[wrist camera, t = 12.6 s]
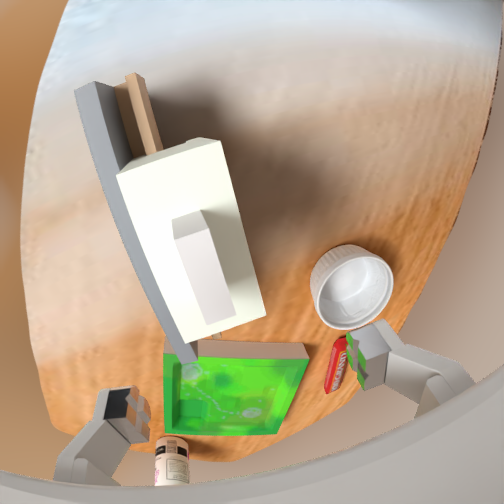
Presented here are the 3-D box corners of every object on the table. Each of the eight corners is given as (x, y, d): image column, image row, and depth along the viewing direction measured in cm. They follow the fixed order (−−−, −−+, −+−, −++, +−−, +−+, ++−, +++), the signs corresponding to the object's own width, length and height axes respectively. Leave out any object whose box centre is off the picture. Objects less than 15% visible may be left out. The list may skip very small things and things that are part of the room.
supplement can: (192, 447, 67) (196, 496, 53) (164, 450, 66) (164, 498, 53) (181, 433, 63) (182, 485, 50) (150, 436, 63) (148, 487, 49)
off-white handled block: (132, 158, 28) (104, 186, 14) (198, 137, 29) (234, 143, 15) (175, 277, 34) (191, 377, 20) (232, 257, 35) (284, 345, 21)
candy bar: (336, 385, 64) (340, 394, 61) (321, 388, 63) (325, 397, 60) (349, 332, 57) (355, 341, 54) (332, 334, 56) (338, 344, 54)
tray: (301, 341, 56) (309, 359, 52) (272, 417, 66) (276, 434, 61) (165, 334, 51) (163, 353, 46) (165, 415, 60) (164, 433, 56)
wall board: (93, 110, 34) (37, 109, 19) (155, 86, 34) (127, 67, 20) (161, 297, 47) (150, 371, 33) (215, 283, 47) (223, 354, 33)
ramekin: (286, 284, 50) (298, 309, 43) (340, 221, 46) (360, 238, 40) (338, 317, 54) (353, 341, 48) (386, 263, 51) (407, 282, 45)
